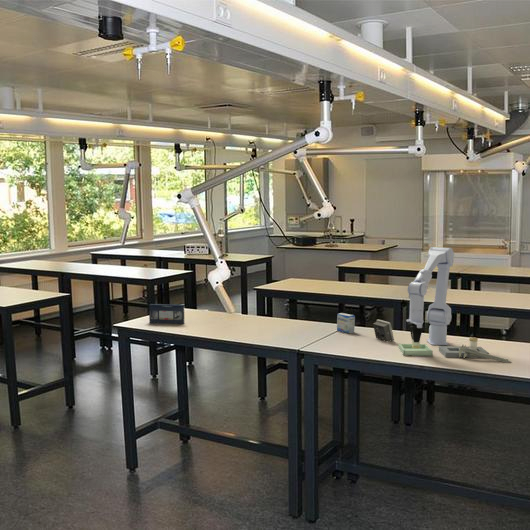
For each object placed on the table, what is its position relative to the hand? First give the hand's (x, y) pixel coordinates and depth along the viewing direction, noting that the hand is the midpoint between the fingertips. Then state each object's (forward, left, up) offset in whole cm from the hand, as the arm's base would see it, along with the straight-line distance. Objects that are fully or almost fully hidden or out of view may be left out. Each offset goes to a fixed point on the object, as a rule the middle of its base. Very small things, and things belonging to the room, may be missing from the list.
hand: (415, 341), depth 259 cm
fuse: (+2, +24, -5) cm, 25 cm away
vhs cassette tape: (-53, -118, -5) cm, 129 cm away
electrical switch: (-22, -10, -5) cm, 25 cm away
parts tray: (0, 0, -5) cm, 5 cm away
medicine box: (-39, -26, -5) cm, 47 cm away
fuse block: (+2, +20, -5) cm, 21 cm away
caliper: (+11, +26, -5) cm, 29 cm away
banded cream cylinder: (0, 0, -3) cm, 3 cm away
